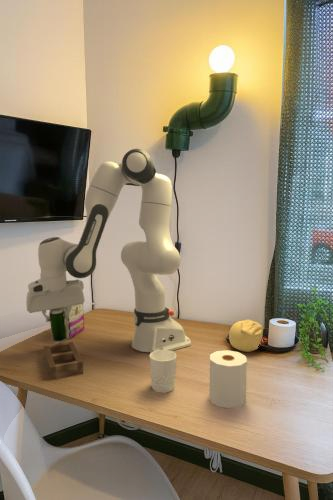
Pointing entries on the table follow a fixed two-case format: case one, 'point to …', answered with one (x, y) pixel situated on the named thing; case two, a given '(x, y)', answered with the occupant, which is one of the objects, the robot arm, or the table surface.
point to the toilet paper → (228, 378)
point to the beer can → (58, 324)
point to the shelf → (63, 360)
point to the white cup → (163, 370)
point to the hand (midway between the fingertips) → (57, 319)
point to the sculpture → (246, 335)
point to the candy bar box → (74, 320)
